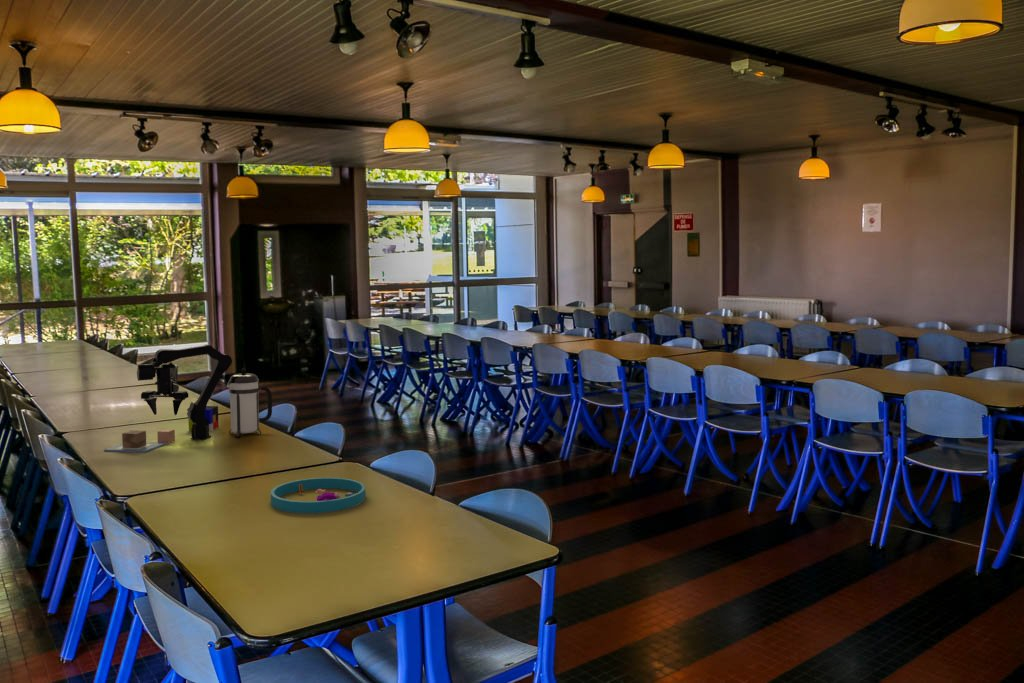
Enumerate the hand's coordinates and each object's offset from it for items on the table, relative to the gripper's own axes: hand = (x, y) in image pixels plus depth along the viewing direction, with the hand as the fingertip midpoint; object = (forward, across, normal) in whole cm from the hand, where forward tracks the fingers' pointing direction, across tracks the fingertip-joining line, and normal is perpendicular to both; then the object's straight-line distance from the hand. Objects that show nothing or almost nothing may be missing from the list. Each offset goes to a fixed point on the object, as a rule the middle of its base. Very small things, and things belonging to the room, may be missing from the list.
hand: (165, 414), depth 355 cm
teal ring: (+13, -95, +77) cm, 123 cm away
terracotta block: (+12, 0, 0) cm, 12 cm away
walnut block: (+11, +6, +14) cm, 19 cm away
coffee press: (+12, -27, -21) cm, 36 cm away
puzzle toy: (+12, -2, -29) cm, 32 cm away
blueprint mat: (+12, +6, +13) cm, 18 cm away
